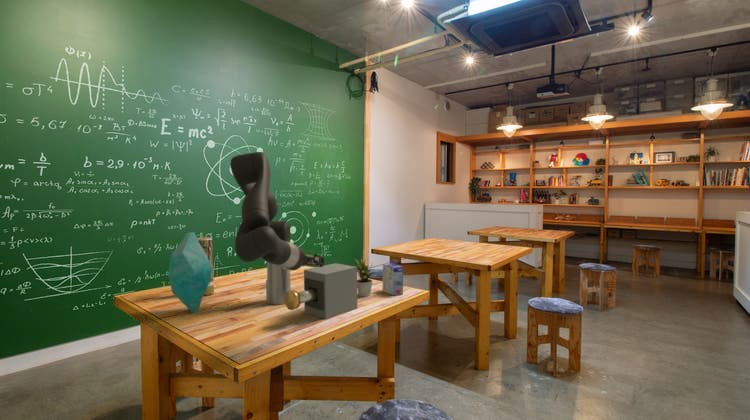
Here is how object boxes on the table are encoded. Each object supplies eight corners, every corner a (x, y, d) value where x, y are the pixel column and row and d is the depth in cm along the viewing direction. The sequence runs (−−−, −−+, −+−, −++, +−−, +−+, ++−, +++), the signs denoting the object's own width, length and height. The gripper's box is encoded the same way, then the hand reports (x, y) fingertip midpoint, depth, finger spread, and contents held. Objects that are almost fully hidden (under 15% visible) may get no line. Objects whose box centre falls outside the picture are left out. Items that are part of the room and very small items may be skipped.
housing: (325, 319, 130) (325, 274, 129) (304, 312, 138) (303, 269, 137) (357, 308, 142) (356, 267, 141) (336, 302, 150) (335, 263, 149)
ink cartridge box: (404, 294, 161) (403, 261, 160) (393, 296, 158) (392, 262, 157) (392, 289, 169) (392, 257, 169) (382, 290, 167) (381, 259, 166)
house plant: (338, 294, 162) (338, 257, 161) (363, 288, 171) (362, 253, 170) (359, 301, 151) (359, 261, 150) (384, 294, 160) (384, 257, 159)
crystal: (166, 313, 138) (163, 233, 137) (202, 304, 149) (199, 230, 148) (181, 319, 131) (178, 235, 129) (218, 309, 142) (215, 232, 140)
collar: (322, 310, 130) (321, 282, 130) (304, 305, 137) (304, 278, 136) (323, 310, 131) (323, 282, 130) (306, 304, 137) (305, 278, 137)
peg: (295, 311, 124) (295, 293, 123) (284, 307, 128) (284, 289, 128) (328, 301, 135) (328, 284, 135) (317, 298, 139) (317, 281, 139)
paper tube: (200, 292, 167) (198, 237, 165) (216, 292, 167) (214, 237, 166) (194, 296, 160) (192, 239, 159) (210, 296, 160) (208, 239, 159)
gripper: (310, 242, 108) (330, 252, 123) (266, 243, 111) (291, 253, 126) (308, 267, 106) (329, 275, 121) (264, 268, 109) (289, 275, 124)
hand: (309, 264), depth 123 cm, fingers open, 8 cm apart
